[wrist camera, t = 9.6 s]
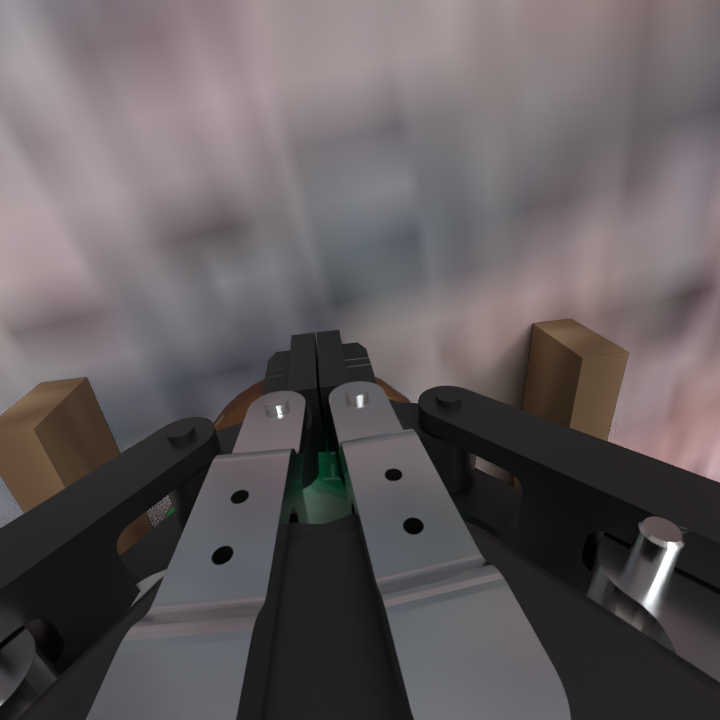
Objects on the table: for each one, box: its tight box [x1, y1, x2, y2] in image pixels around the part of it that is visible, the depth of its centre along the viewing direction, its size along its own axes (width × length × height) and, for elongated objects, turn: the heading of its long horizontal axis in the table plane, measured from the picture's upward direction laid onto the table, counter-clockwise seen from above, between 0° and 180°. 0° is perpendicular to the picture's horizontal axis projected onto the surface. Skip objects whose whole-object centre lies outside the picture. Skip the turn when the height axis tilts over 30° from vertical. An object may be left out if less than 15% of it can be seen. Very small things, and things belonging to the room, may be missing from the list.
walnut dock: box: [0, 319, 629, 556], centre depth 15 cm, size 19×10×3 cm, turn 95°
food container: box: [131, 377, 410, 606], centre depth 11 cm, size 12×6×10 cm, turn 82°
